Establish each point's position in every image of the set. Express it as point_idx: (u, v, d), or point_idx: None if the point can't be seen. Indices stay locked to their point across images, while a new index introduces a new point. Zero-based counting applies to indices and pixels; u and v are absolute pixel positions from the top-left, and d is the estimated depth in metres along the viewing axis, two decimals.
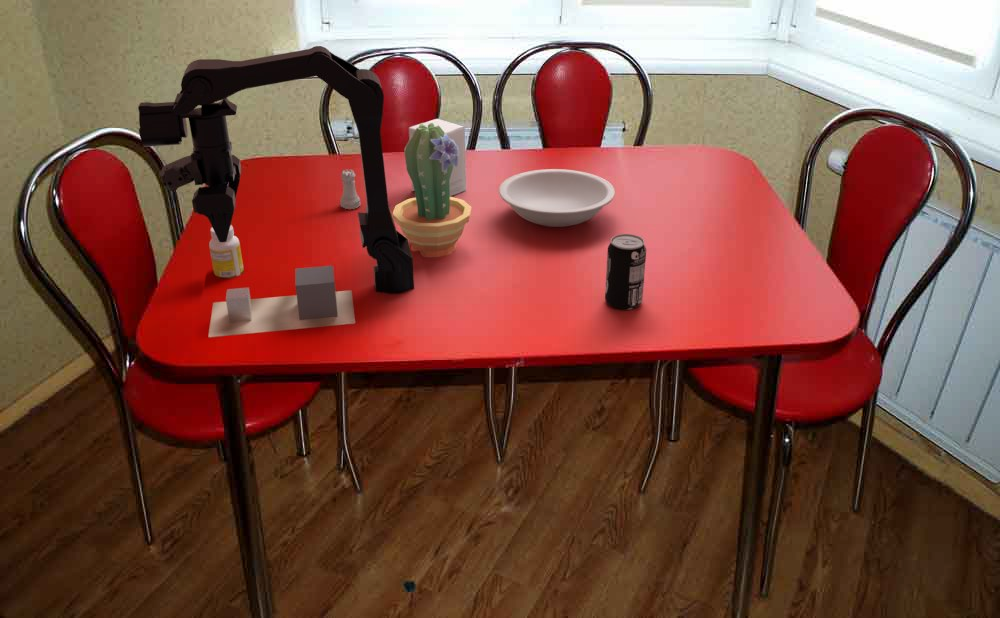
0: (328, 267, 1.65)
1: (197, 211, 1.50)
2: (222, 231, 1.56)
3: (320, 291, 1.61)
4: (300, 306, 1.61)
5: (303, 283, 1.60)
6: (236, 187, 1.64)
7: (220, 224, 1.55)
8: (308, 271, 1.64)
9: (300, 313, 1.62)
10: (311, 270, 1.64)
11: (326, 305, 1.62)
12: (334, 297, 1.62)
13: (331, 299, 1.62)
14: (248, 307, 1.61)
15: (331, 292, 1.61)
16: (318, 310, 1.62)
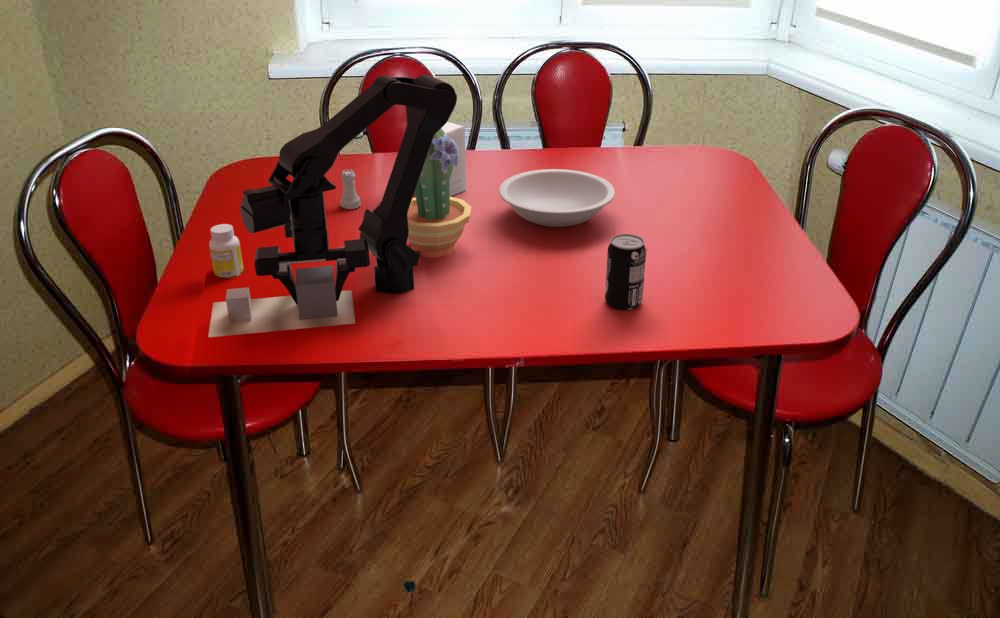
0: (328, 267, 1.65)
1: None
2: None
3: (320, 291, 1.61)
4: (300, 306, 1.61)
5: (303, 283, 1.60)
6: (337, 276, 1.61)
7: None
8: (308, 271, 1.64)
9: (300, 313, 1.62)
10: (311, 270, 1.64)
11: (326, 305, 1.62)
12: (334, 297, 1.62)
13: (331, 299, 1.62)
14: (248, 307, 1.61)
15: (331, 292, 1.61)
16: (318, 310, 1.62)
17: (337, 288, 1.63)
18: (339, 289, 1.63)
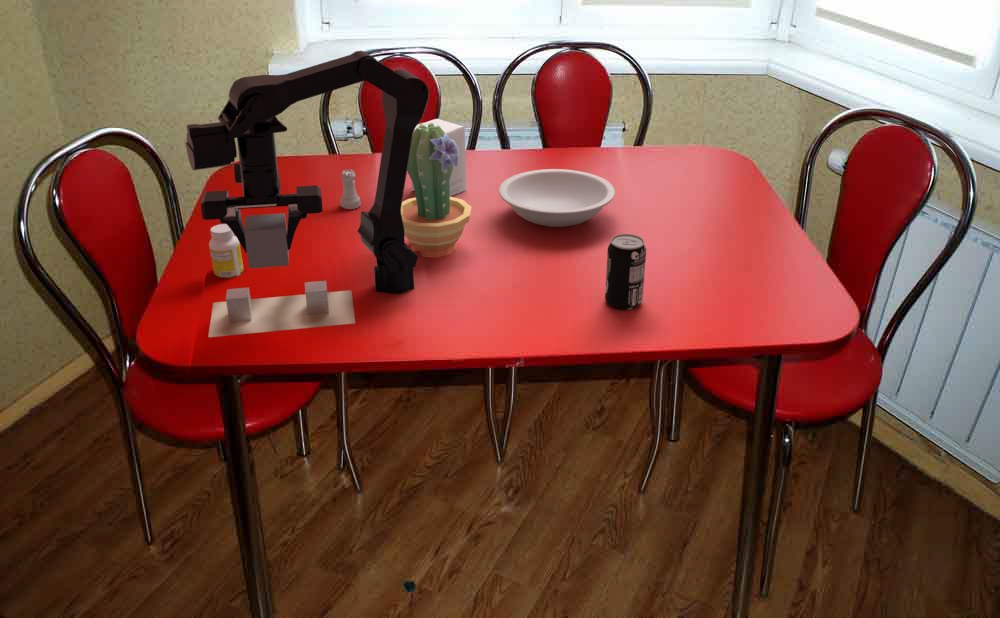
0: (280, 215, 1.59)
1: None
2: None
3: (270, 238, 1.54)
4: (249, 253, 1.55)
5: (252, 229, 1.54)
6: (288, 223, 1.55)
7: None
8: (258, 218, 1.57)
9: (249, 261, 1.56)
10: (262, 217, 1.58)
11: (276, 252, 1.56)
12: (285, 245, 1.55)
13: (282, 247, 1.56)
14: (248, 307, 1.61)
15: (282, 239, 1.55)
16: (268, 258, 1.56)
17: (288, 236, 1.57)
18: (290, 237, 1.57)
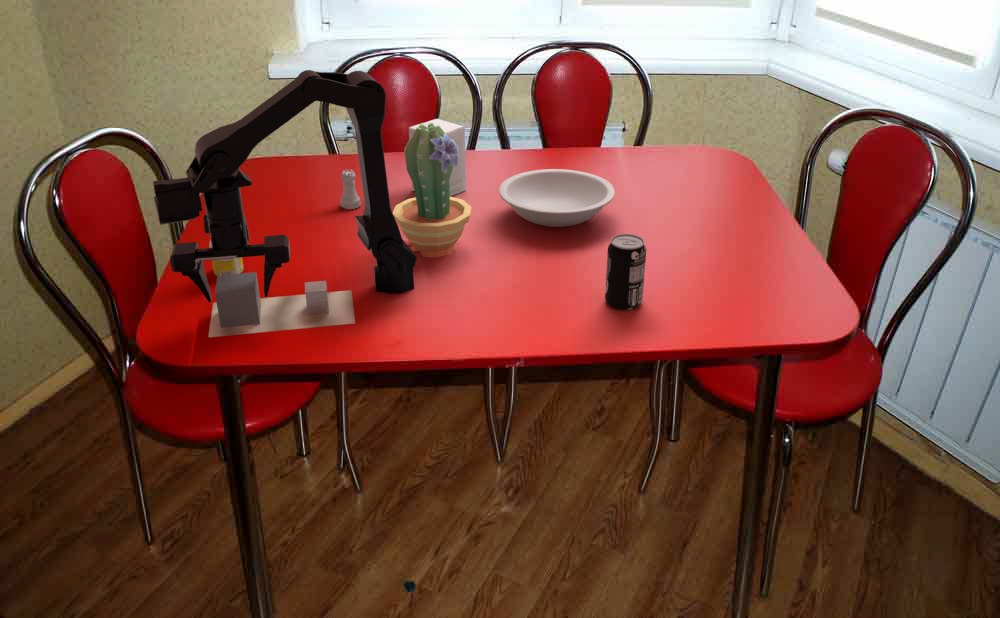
0: (251, 274, 1.63)
1: None
2: None
3: (240, 299, 1.59)
4: (220, 313, 1.59)
5: (223, 290, 1.58)
6: (264, 272, 1.58)
7: None
8: (230, 278, 1.62)
9: (221, 320, 1.60)
10: (233, 277, 1.62)
11: (247, 312, 1.60)
12: (255, 304, 1.60)
13: (252, 307, 1.60)
14: None
15: (252, 299, 1.59)
16: (239, 317, 1.60)
17: (265, 284, 1.60)
18: (267, 285, 1.60)
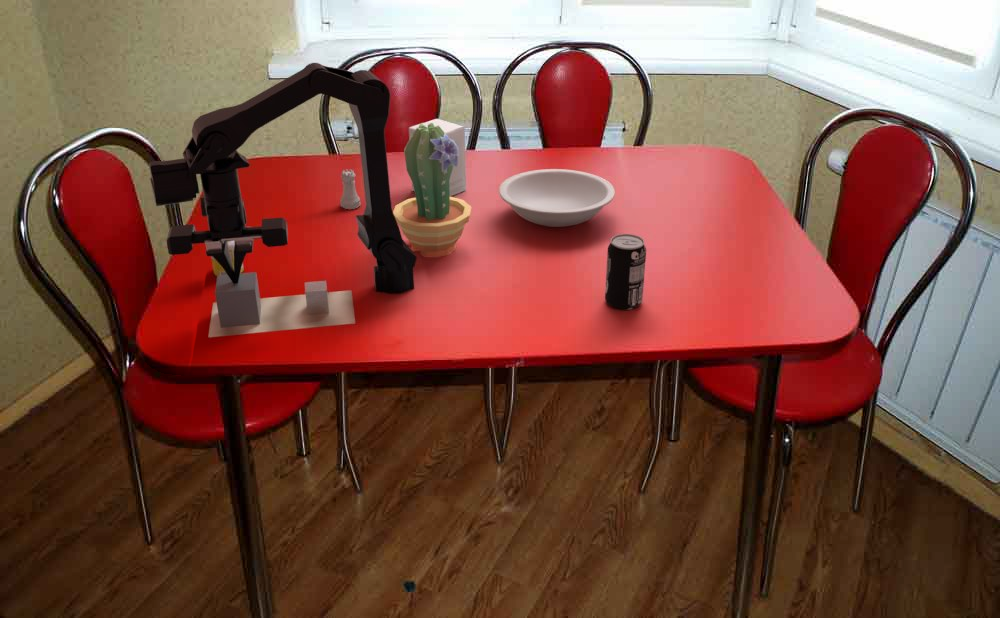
0: (251, 274, 1.63)
1: None
2: None
3: (240, 299, 1.59)
4: (220, 313, 1.59)
5: (223, 290, 1.58)
6: (234, 257, 1.56)
7: None
8: None
9: (221, 320, 1.60)
10: None
11: (247, 312, 1.60)
12: (255, 304, 1.60)
13: (252, 307, 1.60)
14: None
15: (252, 299, 1.59)
16: (239, 317, 1.60)
17: (235, 270, 1.58)
18: (237, 271, 1.58)
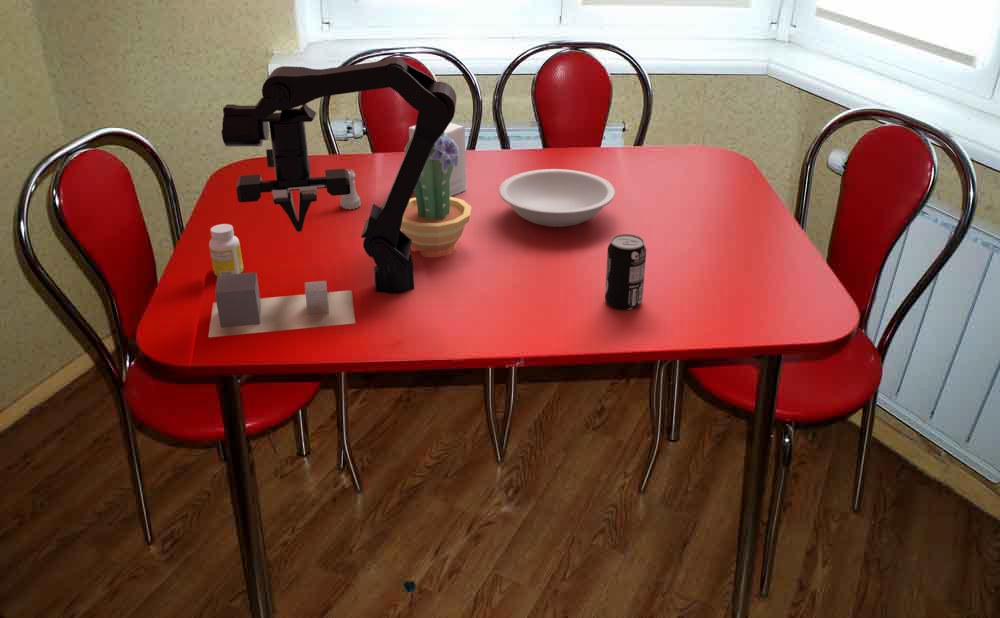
0: (251, 274, 1.63)
1: None
2: None
3: (240, 299, 1.59)
4: (220, 313, 1.59)
5: (223, 290, 1.58)
6: (299, 206, 1.63)
7: None
8: (230, 278, 1.62)
9: (221, 320, 1.60)
10: (233, 277, 1.62)
11: (247, 312, 1.60)
12: (255, 304, 1.60)
13: (252, 307, 1.60)
14: None
15: (252, 299, 1.59)
16: (239, 317, 1.60)
17: (300, 218, 1.65)
18: (302, 219, 1.65)
